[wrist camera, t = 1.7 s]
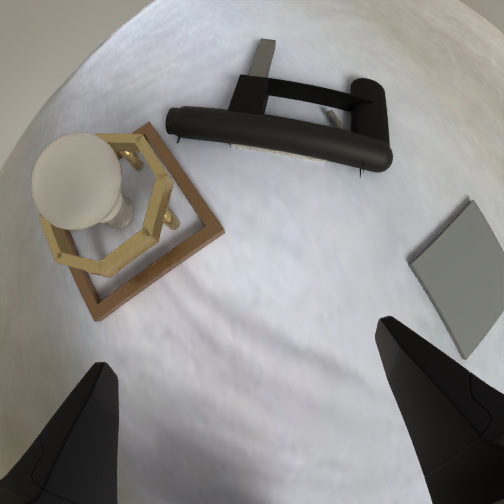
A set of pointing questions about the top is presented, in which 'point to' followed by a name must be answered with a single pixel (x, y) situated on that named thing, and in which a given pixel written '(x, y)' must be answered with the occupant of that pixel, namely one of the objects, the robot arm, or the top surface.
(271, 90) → the door handle
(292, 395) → the top surface
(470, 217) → the mat
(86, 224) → the lightbulb
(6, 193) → the top surface
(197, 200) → the ring stand
